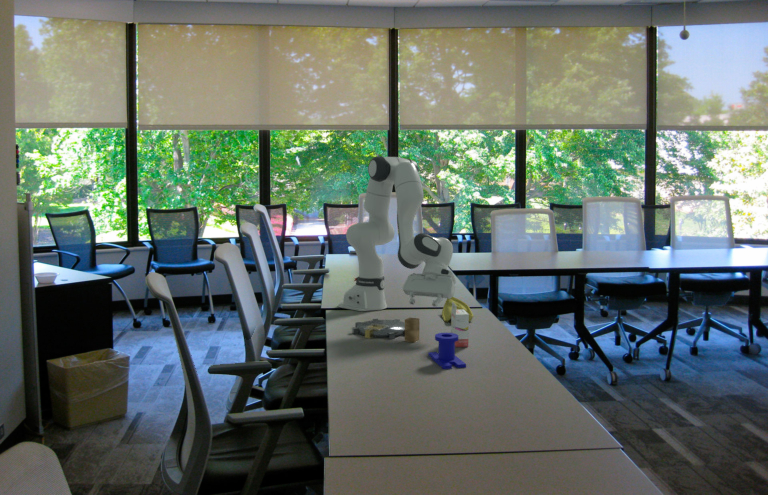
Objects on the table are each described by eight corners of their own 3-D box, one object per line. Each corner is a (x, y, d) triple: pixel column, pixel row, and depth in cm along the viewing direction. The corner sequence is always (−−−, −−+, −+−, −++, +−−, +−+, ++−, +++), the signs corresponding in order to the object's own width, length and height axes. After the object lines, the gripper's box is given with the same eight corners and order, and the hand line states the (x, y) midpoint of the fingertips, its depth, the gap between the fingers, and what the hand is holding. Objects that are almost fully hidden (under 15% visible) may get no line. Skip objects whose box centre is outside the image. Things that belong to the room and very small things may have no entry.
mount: (428, 356, 207) (428, 330, 206) (449, 354, 209) (449, 329, 208) (443, 369, 192) (443, 342, 191) (466, 367, 194) (466, 340, 193)
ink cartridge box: (469, 347, 217) (469, 305, 215) (455, 347, 216) (455, 306, 214) (463, 340, 225) (464, 300, 223) (450, 340, 225) (450, 301, 223)
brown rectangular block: (404, 341, 225) (404, 319, 224) (409, 338, 228) (409, 317, 227) (414, 342, 223) (414, 320, 222) (419, 339, 226) (419, 318, 225)
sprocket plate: (340, 334, 234) (340, 326, 234) (371, 320, 255) (371, 313, 255) (395, 342, 223) (395, 334, 222) (424, 327, 244) (424, 320, 243)
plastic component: (474, 317, 251) (452, 307, 250) (466, 332, 253) (444, 322, 252) (467, 303, 271) (446, 293, 270) (459, 317, 272) (439, 308, 271)
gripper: (406, 268, 241) (395, 297, 234) (455, 271, 231) (445, 302, 224) (412, 278, 246) (401, 306, 238) (460, 281, 236) (450, 311, 228)
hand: (422, 304), depth 231 cm, fingers open, 8 cm apart
